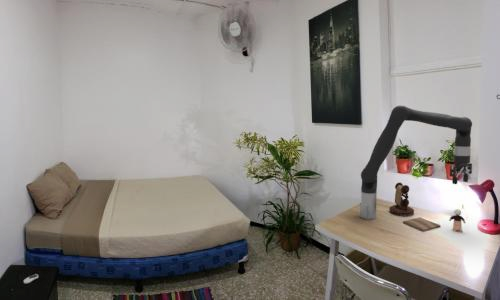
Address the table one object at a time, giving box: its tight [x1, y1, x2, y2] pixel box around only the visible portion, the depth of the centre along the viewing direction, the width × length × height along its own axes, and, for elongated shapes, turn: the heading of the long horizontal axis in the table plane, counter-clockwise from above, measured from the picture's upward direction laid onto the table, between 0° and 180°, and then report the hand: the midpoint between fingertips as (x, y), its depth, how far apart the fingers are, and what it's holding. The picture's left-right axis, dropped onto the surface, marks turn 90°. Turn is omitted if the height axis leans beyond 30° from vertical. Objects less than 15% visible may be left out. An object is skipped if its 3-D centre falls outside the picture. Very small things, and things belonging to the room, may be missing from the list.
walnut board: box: [402, 216, 441, 233], centre depth 178 cm, size 14×14×1 cm
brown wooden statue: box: [388, 182, 415, 217], centre depth 197 cm, size 15×15×20 cm
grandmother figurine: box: [448, 208, 466, 233], centre depth 168 cm, size 8×4×13 cm, turn 71°
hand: (460, 182), depth 165 cm, fingers open, 8 cm apart
